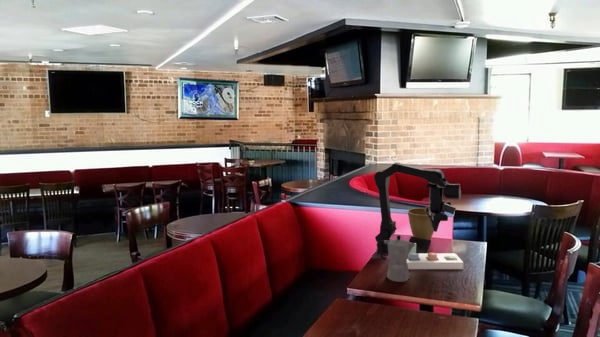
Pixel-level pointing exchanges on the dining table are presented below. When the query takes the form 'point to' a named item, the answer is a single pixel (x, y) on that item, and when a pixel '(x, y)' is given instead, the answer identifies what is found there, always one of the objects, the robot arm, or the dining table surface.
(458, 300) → the dining table surface
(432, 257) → the terracotta button
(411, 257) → the slate blue button
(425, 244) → the handheld gaming console
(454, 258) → the sage green button
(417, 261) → the button panel
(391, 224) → the robot arm
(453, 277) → the dining table surface
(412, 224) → the plant pot
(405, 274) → the coffeepot
